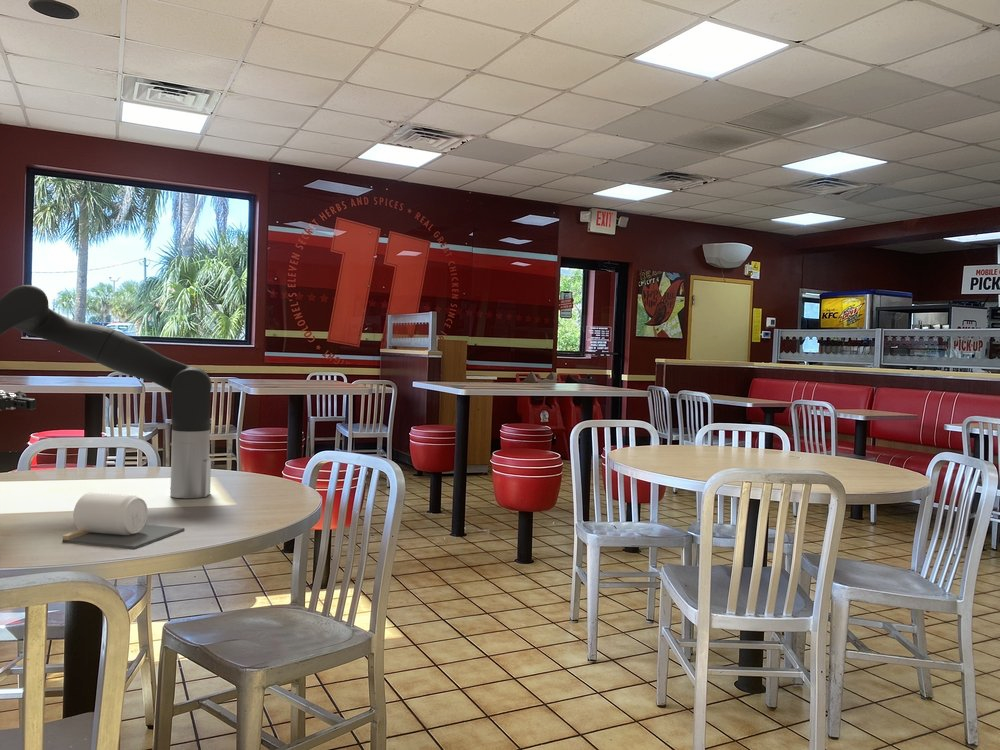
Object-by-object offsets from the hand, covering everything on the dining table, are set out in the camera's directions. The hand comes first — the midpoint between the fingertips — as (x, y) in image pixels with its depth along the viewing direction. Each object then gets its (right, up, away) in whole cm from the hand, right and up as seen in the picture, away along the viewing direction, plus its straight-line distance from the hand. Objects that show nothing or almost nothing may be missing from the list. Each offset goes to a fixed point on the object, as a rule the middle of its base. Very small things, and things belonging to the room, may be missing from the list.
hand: (33, 404), depth 161 cm
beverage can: (+12, -22, -3) cm, 26 cm away
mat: (+22, -27, -4) cm, 35 cm away
